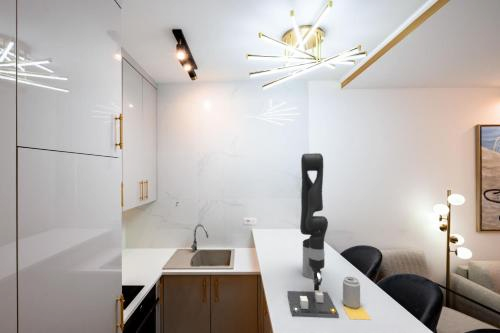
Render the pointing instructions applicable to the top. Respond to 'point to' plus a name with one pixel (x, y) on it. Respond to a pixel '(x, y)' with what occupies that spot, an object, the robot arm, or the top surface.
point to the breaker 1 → (303, 302)
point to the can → (351, 292)
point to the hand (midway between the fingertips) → (316, 291)
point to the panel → (312, 305)
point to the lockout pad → (356, 313)
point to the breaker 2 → (319, 296)
